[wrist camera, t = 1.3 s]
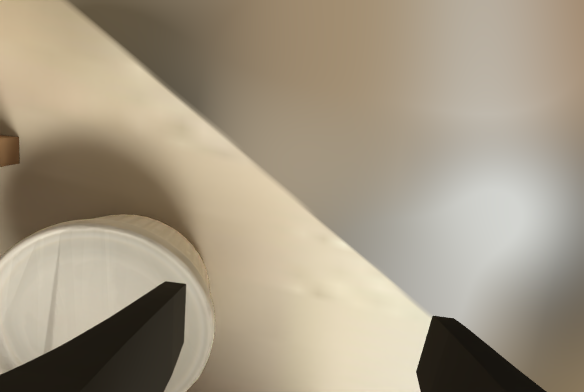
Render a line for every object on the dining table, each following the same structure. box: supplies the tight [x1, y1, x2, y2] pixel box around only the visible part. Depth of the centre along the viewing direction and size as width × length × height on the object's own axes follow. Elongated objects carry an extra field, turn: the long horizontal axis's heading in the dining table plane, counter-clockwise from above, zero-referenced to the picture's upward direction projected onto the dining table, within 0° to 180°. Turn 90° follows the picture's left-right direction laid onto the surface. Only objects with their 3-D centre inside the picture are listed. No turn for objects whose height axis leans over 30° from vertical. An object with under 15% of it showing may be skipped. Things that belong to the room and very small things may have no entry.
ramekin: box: [0, 214, 215, 392], centre depth 20 cm, size 11×11×5 cm
